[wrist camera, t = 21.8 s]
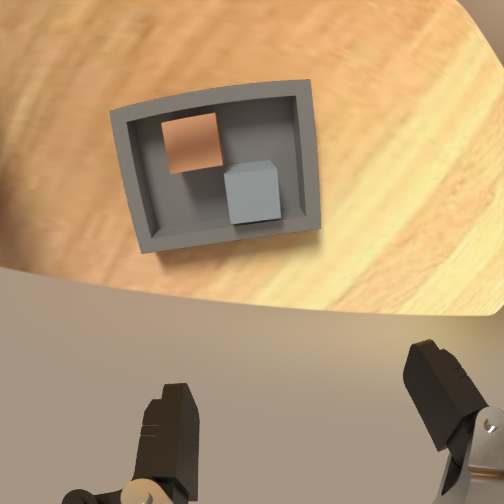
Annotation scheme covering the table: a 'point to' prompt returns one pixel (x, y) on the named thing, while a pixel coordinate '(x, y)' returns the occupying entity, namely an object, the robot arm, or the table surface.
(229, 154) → the charcoal tray
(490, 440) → the robot arm
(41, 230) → the table surface
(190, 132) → the terracotta block
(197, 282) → the table surface
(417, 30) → the table surface
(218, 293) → the table surface
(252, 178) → the grey block
